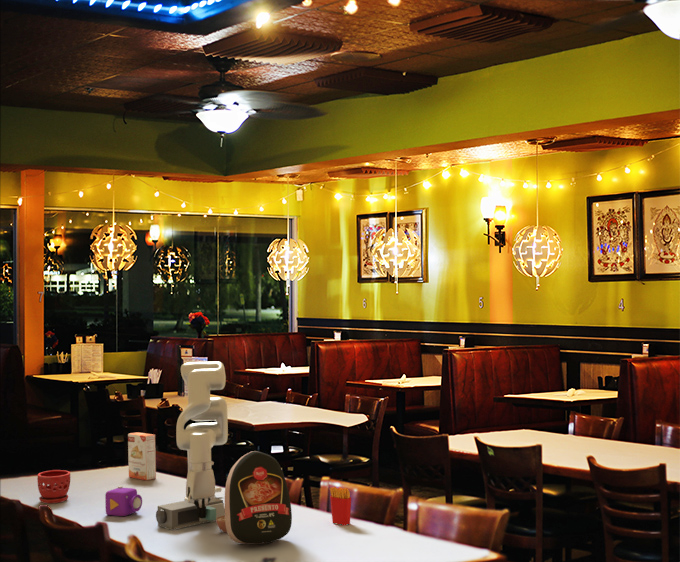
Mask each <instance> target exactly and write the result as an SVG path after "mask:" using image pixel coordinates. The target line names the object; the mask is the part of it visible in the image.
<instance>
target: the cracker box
mask: <svg viewBox="0 0 680 562" xmlns="http://www.w3.org/2000/svg"><path fill="white" fill-rule="evenodd" d="M127 446H128V447H127V448H128V449H127V451H128V452H127V453H128V457H127V459H128V477H129V478H132V479H136V480H142V481H150V480H154V479H156V478H157V465H156V463H157V461H156V459H157V458H156V434H154V433H153V434H152V433H145V432H139V431H138V432H130V433H128V434H127Z"/></svg>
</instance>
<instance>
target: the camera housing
mask: <svg viewBox="0 0 680 562" xmlns="http://www.w3.org/2000/svg"><path fill="white" fill-rule="evenodd" d="M218 503H224V499H220V498H216V497H215V498H214V499H212V500H210V501H209V503H208V505H213V504H218ZM208 505H207V506H208ZM155 519H156V521H157V526H160V527H161V528H162V527H163V528H165V529H168V530H171V531H174V530H178V529H183V528H187V527H188V528H189V527H192V526H193V527H194V526H196V525H197V526H198V525H201V524H206V523H211V522H215V521H216V520H212V521H210V520H207V521H202V522H201V521H199V518H198V517H197V506H195V504H193V503H188V500H186V501H185V500H182V501H178V502H172V503H166V504H161V505H157V510H156V512H155Z"/></svg>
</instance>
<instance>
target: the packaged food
mask: <svg viewBox="0 0 680 562" xmlns="http://www.w3.org/2000/svg"><path fill="white" fill-rule="evenodd" d="M287 485H288V484H287V481H286V477H285V475H284V471H283V469H282V467H281V465H280V464H279V462H278V461H277V459H276V458H275V457H273V456H272V455H270V454H268V453H264V452H261V451H257V450H254V451H250V452H247V453H246V454H244V455H243V456H241V457H240V458H239V459H238V460H237V461H236V462H235V463H234V464H233V465H232V467H231V468H230V470H229V473H228V476H227V477H226V482H225V489H224V515H225V524H226V530H227V533H226V534H227V536H228V537H229V538H230V541H232V542H233V543H236V544H240V545H243V544H245V545H247V544H254V545H257V544H270V543H273V542H275V541H278V540H282V539H283V538H284V537H286V536H287V535H288V534H289V532H290V531H291V527H292V523H293V522H292V521H293V515H292V514H293V513H292V504H291V498H290V493H289V489H288V486H287Z"/></svg>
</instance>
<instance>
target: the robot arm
mask: <svg viewBox="0 0 680 562" xmlns="http://www.w3.org/2000/svg"><path fill="white" fill-rule="evenodd" d="M225 369H226V368H225V366H224V363H223V362H221V361H192V362H191V361H190V362H185V363H183V364H181V366H180V373H181V374H180V375H181V377H182V380H183V381H184V383H185V385H186V389H187V406H186V407H185V408H184V409H183V410H182V411H181V412H180V414H179V416H178V418H177V422H176V433H175V434H176V435H175V436H176V446H177V448H178V449H179V450H180V451H182V450H183V451H187V475H186V482H185V484H186V485H185V497H184V501H186V500H188V503H193V504H195V506H197V517H198V518H206V506H207V505H208V503H209V501H210V500H212V499H214V498H216V495H215V494H216V493H221V492H222V490H223V489H222V487H221V486H218V487H216V479H215V475H214V470H213V468H212V466H214V463H215V462H214V461H213V460H212V448H213V447H214V446H223V445H224V444H226V443H227V442H228V437H229V436H228V435H229V433H228V432H229V429H228V428H229V427H228V424H229V421H228V420H229V419H228V404H227V401H226V399H224V398H223V397H220V396H217V397H216V396H214V397H211V391H221V390H224V388H225V386H226V379H227V376H226V370H225ZM190 420H191V421H193V422H194V421H195V423H190V424H188V425H187V426H186V428H185V424H186V423H187V422H188V421H190ZM209 421H211V422H209ZM212 421H214V422H212Z"/></svg>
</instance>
